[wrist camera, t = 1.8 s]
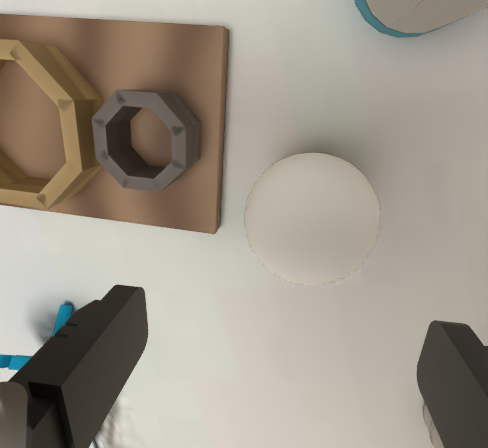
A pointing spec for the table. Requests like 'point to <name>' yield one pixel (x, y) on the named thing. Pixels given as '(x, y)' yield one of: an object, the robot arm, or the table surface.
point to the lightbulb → (312, 219)
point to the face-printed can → (415, 14)
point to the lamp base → (151, 135)
